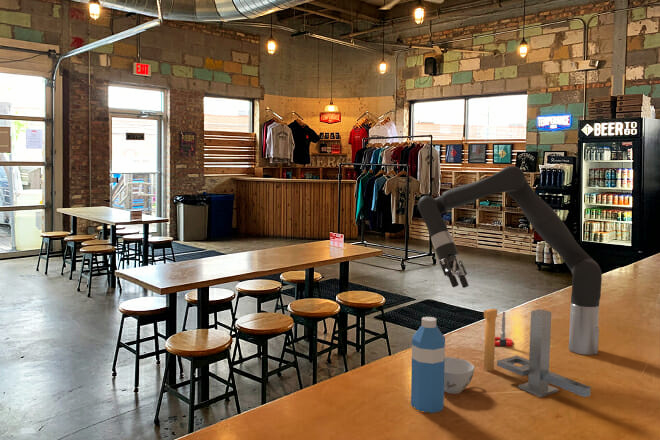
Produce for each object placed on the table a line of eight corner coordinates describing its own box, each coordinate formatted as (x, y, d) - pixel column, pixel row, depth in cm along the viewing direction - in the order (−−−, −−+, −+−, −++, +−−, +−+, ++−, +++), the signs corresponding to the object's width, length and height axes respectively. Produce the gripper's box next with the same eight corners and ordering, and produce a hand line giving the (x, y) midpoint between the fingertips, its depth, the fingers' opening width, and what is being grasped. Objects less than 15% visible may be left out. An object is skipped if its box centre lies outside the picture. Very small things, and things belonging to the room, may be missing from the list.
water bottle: (407, 399, 159) (408, 314, 156) (439, 397, 160) (440, 313, 157) (414, 413, 150) (416, 324, 147) (448, 412, 151) (450, 323, 148)
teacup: (455, 402, 157) (455, 375, 156) (422, 388, 166) (422, 362, 165) (487, 389, 166) (488, 363, 165) (454, 376, 176) (454, 352, 175)
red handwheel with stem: (487, 339, 213) (491, 346, 203) (488, 306, 212) (492, 311, 203) (510, 340, 211) (514, 347, 202) (511, 307, 210) (516, 312, 201)
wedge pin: (489, 366, 184) (491, 307, 181) (497, 369, 181) (499, 310, 179) (480, 369, 181) (482, 309, 179) (487, 372, 179) (489, 312, 176)
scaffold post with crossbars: (496, 379, 173) (498, 304, 170) (516, 373, 178) (518, 300, 175) (576, 414, 149) (580, 328, 147) (596, 406, 154) (601, 322, 151)
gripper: (444, 239, 196) (461, 282, 190) (461, 243, 207) (478, 283, 201) (426, 248, 200) (443, 290, 194) (444, 251, 211) (460, 291, 205)
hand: (461, 286), depth 198 cm, fingers open, 8 cm apart
